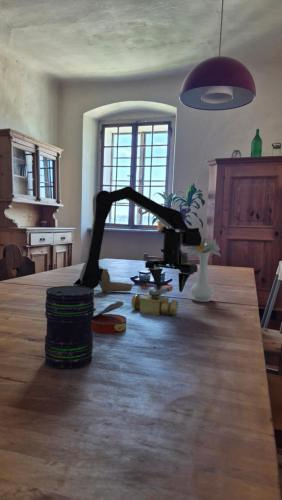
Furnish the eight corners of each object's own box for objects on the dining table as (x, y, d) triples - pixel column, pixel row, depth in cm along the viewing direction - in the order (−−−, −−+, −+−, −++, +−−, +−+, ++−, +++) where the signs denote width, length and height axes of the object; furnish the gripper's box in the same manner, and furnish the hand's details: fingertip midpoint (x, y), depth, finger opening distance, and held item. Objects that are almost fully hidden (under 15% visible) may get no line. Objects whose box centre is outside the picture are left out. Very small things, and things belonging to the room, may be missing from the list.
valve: (170, 318, 107) (171, 300, 107) (129, 310, 115) (130, 294, 114) (179, 313, 113) (179, 296, 113) (139, 306, 121) (140, 291, 120)
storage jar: (72, 348, 78) (73, 284, 77) (102, 360, 72) (104, 290, 71) (34, 360, 70) (35, 289, 69) (64, 375, 64) (66, 297, 63)
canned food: (100, 351, 89) (83, 320, 87) (95, 335, 99) (80, 307, 96) (138, 331, 91) (123, 299, 88) (129, 317, 101) (115, 288, 98)
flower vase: (212, 295, 145) (215, 237, 144) (222, 305, 127) (225, 239, 125) (181, 294, 146) (184, 236, 144) (187, 304, 127) (190, 237, 125)
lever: (157, 296, 111) (157, 291, 111) (146, 295, 113) (147, 290, 113) (173, 290, 122) (173, 286, 122) (163, 289, 124) (163, 285, 124)
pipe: (133, 294, 143) (134, 270, 143) (93, 293, 141) (94, 269, 140) (131, 291, 150) (132, 268, 149) (93, 290, 147) (94, 267, 146)
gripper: (205, 247, 120) (203, 290, 121) (162, 244, 132) (160, 284, 133) (190, 248, 112) (188, 295, 113) (144, 244, 123) (143, 287, 124)
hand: (169, 290), depth 121 cm, fingers open, 9 cm apart
